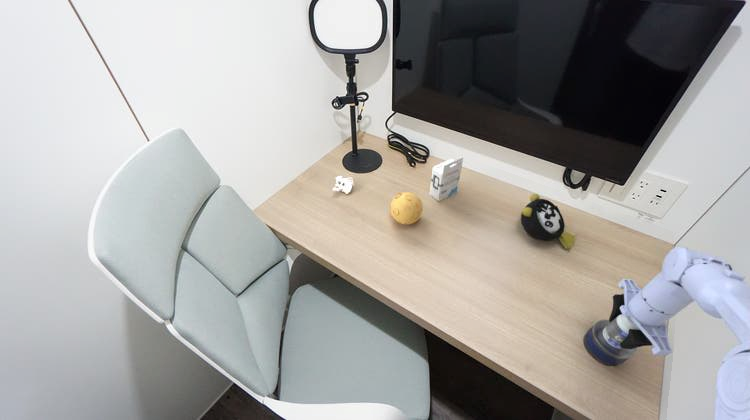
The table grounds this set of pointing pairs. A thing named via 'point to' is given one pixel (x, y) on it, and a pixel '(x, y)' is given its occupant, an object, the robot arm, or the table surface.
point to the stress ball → (406, 208)
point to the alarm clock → (545, 222)
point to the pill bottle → (618, 330)
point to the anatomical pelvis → (347, 184)
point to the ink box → (445, 179)
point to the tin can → (605, 346)
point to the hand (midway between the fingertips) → (619, 333)
